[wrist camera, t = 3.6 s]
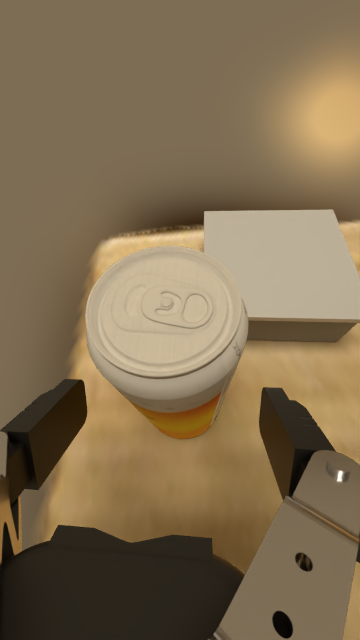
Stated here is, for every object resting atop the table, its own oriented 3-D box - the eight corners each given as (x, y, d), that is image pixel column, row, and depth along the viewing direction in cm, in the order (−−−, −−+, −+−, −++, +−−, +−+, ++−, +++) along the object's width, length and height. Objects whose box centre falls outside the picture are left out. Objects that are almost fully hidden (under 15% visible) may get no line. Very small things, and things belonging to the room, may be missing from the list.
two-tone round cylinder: (159, 361, 23) (112, 230, 10) (223, 374, 22) (261, 248, 9) (138, 429, 20) (38, 366, 7) (212, 448, 19) (244, 413, 6)
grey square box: (312, 247, 29) (332, 209, 25) (342, 347, 23) (376, 319, 19) (203, 247, 30) (204, 211, 26) (201, 343, 24) (202, 316, 20)
